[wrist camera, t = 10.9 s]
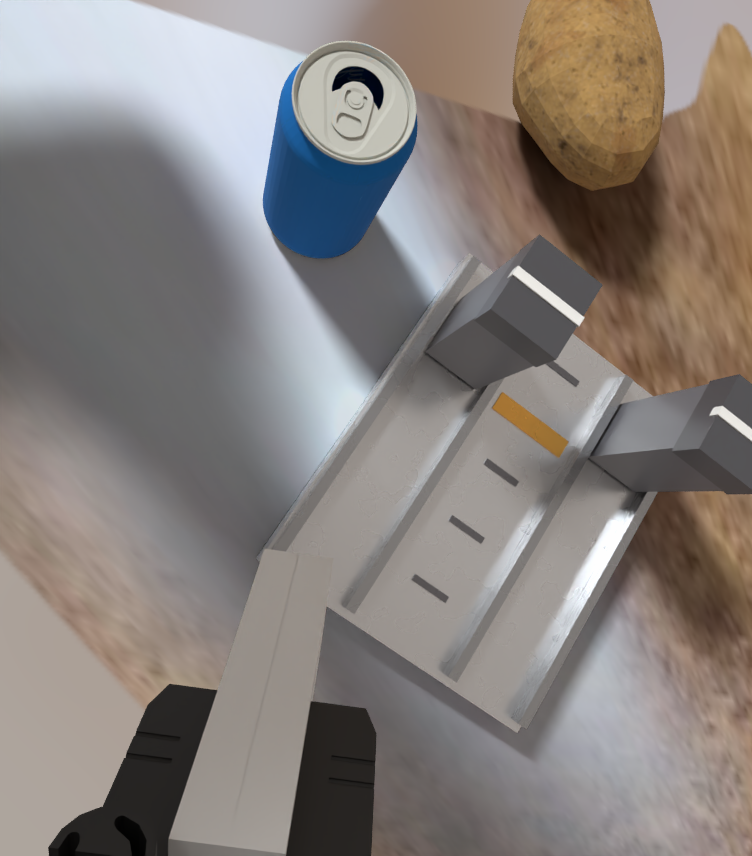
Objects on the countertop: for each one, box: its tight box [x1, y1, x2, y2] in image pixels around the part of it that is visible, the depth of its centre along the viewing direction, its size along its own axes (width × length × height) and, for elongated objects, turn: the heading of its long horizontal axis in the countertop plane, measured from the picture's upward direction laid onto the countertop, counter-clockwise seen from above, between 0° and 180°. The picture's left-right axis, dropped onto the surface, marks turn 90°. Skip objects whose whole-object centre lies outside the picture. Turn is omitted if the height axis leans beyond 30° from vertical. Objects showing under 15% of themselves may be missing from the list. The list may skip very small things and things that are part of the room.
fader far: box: [589, 374, 752, 494], centre depth 38 cm, size 4×4×10 cm
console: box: [257, 253, 658, 733], centre depth 41 cm, size 18×22×3 cm
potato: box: [513, 0, 665, 191], centre depth 42 cm, size 10×14×8 cm
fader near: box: [425, 235, 602, 389], centre depth 36 cm, size 4×4×10 cm
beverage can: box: [263, 41, 417, 259], centre depth 36 cm, size 6×6×12 cm
